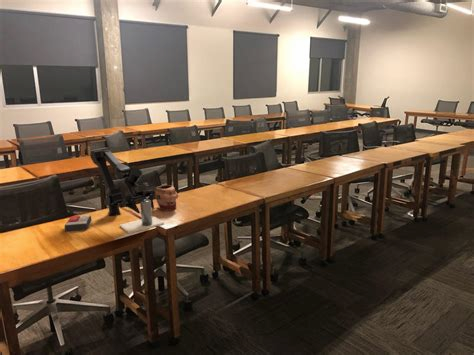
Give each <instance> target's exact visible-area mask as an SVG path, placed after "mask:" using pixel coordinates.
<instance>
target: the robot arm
mask: <svg viewBox="0 0 474 355" xmlns="http://www.w3.org/2000/svg"><path fill="white" fill-rule="evenodd" d="M89 158H90V159H91V161H92V162H93V164H94V165H96V166H97V167H98V170H99V172H100V174H101V178H102V181H103V183H104V186H105V188H106V192H105V199H104V201H103V202H104V206H108V216H109V217H111V216H117V215H118V216H119V215H122V214H121V210H120V204H121V205H122V207H124V208H125V207H126V208H128V209H130V210H132V211H134V212H136V213H137V214H141V210H140V209H139V208H138V206H137V204H136V201H137V200H143V199H144V200H146V199H148V200H151V210H153V209H155V206H154V205H155V204H154V202H153V201H154V199H153V198H154V197H155V189H149V188H150V185H149V183H148V182H143V183H142V184H141V185H140V184H137V182H138V181H139V179H141V176H142V175H143V172H142V170H141V169H140V168H138V167H136V166H135V165H134V166H132V167H131V168H130V167H129V166H128V165H126V164H123V163H122V162H121V161H120V160H119V159H118V158H117V157H116V156H115V155H114V154H113V152H112V150H111V149H98V150H92V151H91V153H90V157H89ZM107 163H108V164H109V165H110V166H111V168H112V169H113V170H114V174H115V176H116V177H117V179H119V180H122V183H121V184H122V186H125V188H126V190H127V191H128V192H127V193H128V196H125V197H124V195H123V192H122V190H121V188H120V187H117V186H116V185H115V183H114V179H113V176H112V174H111V172H110V170H109V166H108V164H107ZM123 179H124V180H123ZM145 191H146V192H145ZM123 197H124V198H123Z"/></svg>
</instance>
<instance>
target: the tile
mask: <svg viewBox="0 0 474 355" xmlns="http://www.w3.org/2000/svg"><path fill="white" fill-rule="evenodd" d="M162 225H165V222H164V221H163V220H161V219H159V218H158V217H156V216H153V215H152V225H150V226H143V225H142V219H141V218H140V219H138V220H133V221H130V222H126V223H122V224H121V223H120V224H119V227H120V228H121V229H122V230H124V231H125V232H126V233H128V234H133V233H135V232H138V231H139V232H140V231H143V230H147V229H150V228H154V227H155V228H156V227H159V226H162Z"/></svg>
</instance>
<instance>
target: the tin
mask: <svg viewBox="0 0 474 355" xmlns="http://www.w3.org/2000/svg"><path fill="white" fill-rule="evenodd" d="M139 204H140V217H141V218H140V220H141V219H142V225H143V226H150V225H152V217H153V211H152V210H153V209H152V208H151V200H148V199H140V201H139Z"/></svg>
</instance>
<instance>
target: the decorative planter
mask: <svg viewBox="0 0 474 355" xmlns="http://www.w3.org/2000/svg"><path fill="white" fill-rule="evenodd" d="M154 191H155V194H154V199H155V200H156V203H157V205H158V208H159V209H160V210H162V211H173V210H176V208H177V199H178V198H179V195H178V192H177V191H176V189H175V187H174V185H171V184H163V185H159V186H156V187H155V189H154Z"/></svg>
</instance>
